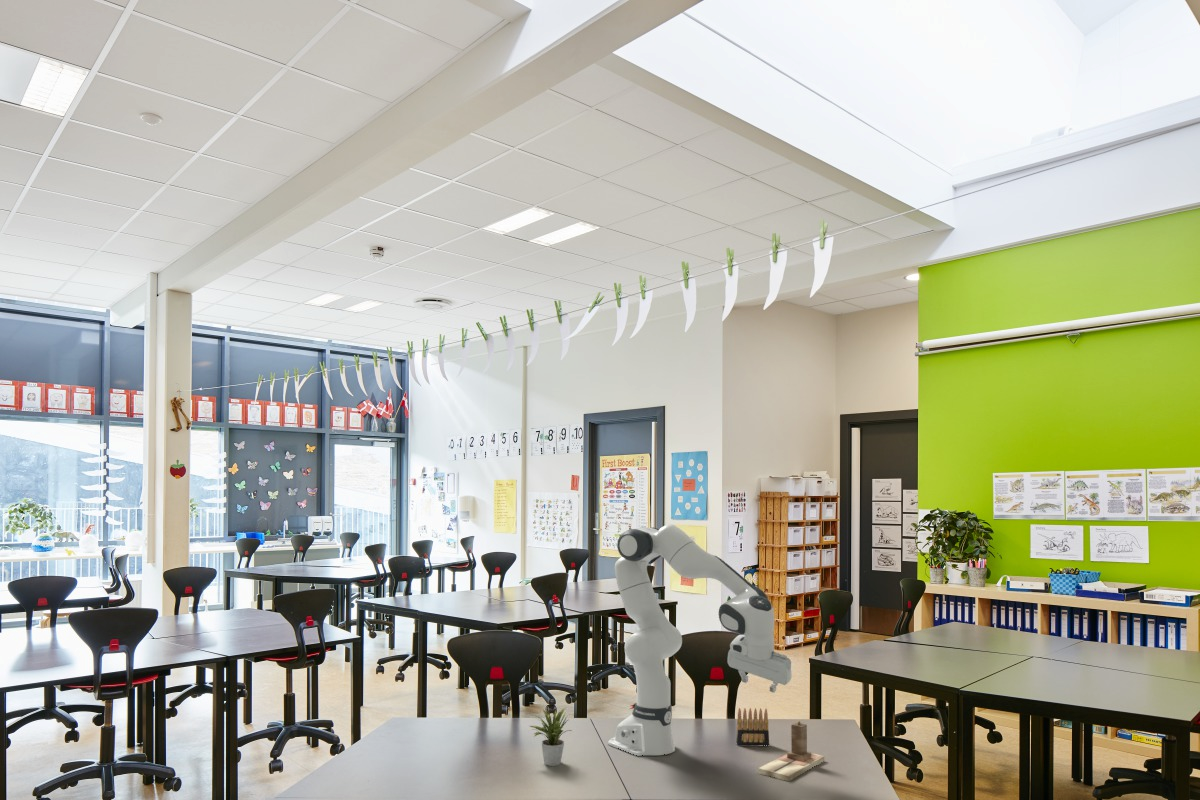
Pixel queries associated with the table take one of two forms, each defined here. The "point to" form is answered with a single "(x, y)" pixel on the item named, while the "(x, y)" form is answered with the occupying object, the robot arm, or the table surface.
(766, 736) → the ammunition clip
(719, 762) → the table surface
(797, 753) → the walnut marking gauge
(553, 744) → the house plant
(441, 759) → the table surface
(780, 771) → the maple board
